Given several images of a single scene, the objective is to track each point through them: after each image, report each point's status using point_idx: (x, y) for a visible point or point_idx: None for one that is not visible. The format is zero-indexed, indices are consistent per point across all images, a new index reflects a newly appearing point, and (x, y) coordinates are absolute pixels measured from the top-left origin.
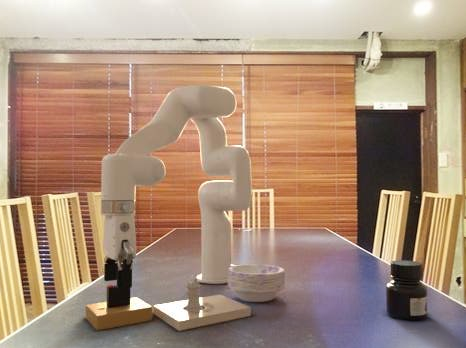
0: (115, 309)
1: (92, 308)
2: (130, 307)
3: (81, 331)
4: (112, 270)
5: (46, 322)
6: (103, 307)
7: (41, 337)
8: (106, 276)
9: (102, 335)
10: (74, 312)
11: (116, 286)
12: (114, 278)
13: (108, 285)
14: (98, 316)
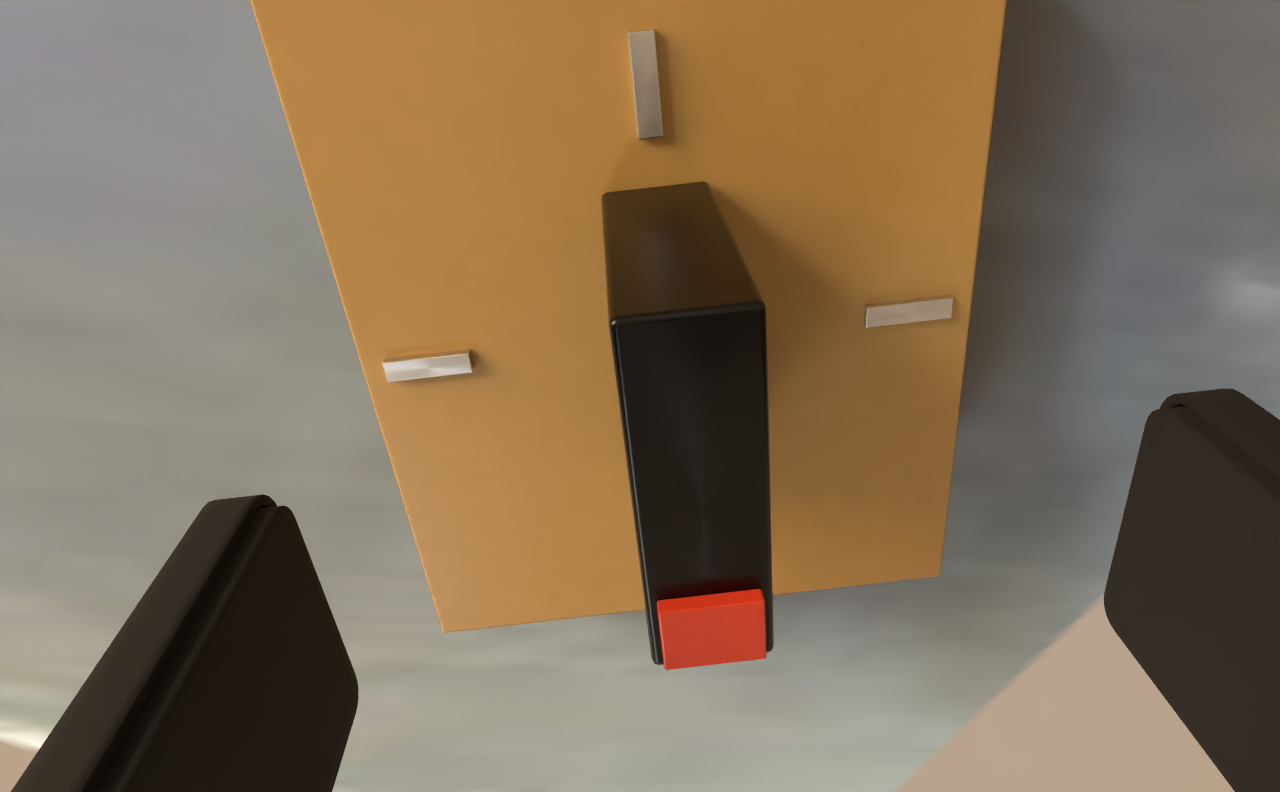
0: (815, 394)
1: (629, 592)
2: (840, 207)
3: None
4: (248, 775)
5: (451, 762)
6: None
7: (795, 776)
8: (332, 753)
9: (1043, 463)
10: None
11: (743, 545)
12: (300, 579)
13: (680, 661)
14: (937, 562)
